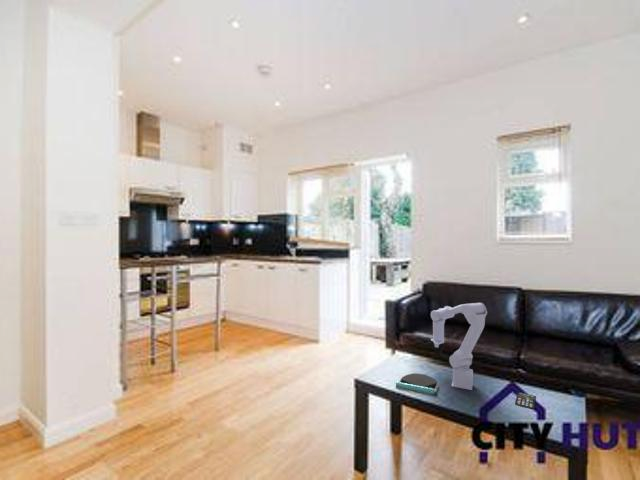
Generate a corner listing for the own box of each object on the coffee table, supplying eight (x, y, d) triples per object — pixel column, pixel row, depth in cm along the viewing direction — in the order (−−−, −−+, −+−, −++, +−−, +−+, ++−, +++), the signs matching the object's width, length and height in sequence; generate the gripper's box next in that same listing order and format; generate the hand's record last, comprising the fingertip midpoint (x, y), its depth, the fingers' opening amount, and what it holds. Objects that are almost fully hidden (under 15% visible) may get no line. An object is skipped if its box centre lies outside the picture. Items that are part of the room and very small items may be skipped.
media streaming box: (398, 382, 178) (398, 376, 178) (418, 376, 186) (418, 370, 186) (420, 393, 165) (420, 387, 165) (440, 386, 173) (440, 380, 173)
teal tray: (438, 387, 172) (438, 382, 172) (435, 395, 163) (435, 390, 163) (400, 379, 180) (400, 375, 180) (395, 387, 171) (395, 382, 171)
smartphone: (535, 395, 162) (534, 408, 149) (535, 397, 162) (534, 410, 149) (517, 391, 166) (514, 404, 154) (517, 393, 166) (514, 405, 154)
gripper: (432, 327, 196) (432, 351, 196) (428, 334, 183) (428, 359, 183) (446, 329, 193) (445, 353, 193) (442, 336, 180) (442, 362, 180)
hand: (438, 356), depth 188 cm, fingers closed
